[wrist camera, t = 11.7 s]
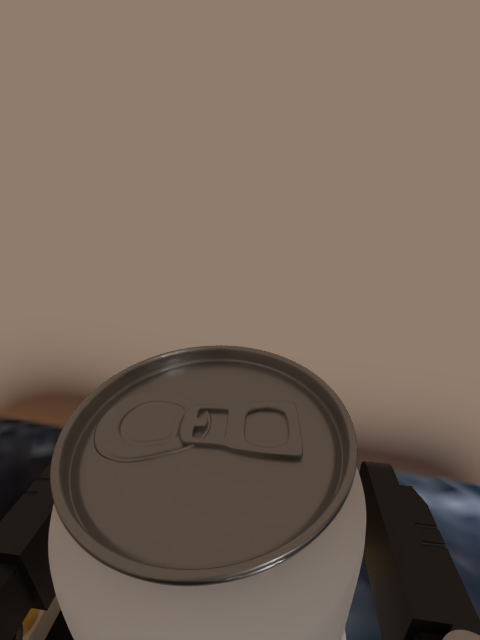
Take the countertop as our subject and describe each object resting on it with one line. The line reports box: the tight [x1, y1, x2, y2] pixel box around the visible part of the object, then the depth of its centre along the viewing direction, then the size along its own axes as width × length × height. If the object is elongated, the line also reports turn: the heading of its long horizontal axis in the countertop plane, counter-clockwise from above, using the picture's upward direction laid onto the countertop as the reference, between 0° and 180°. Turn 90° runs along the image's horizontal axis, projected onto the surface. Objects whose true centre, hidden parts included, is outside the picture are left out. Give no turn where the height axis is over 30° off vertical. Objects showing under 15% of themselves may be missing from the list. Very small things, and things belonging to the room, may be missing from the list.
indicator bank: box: [22, 596, 61, 640], centre depth 12 cm, size 1×8×2 cm, turn 173°
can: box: [48, 346, 366, 640], centre depth 9 cm, size 6×6×12 cm
